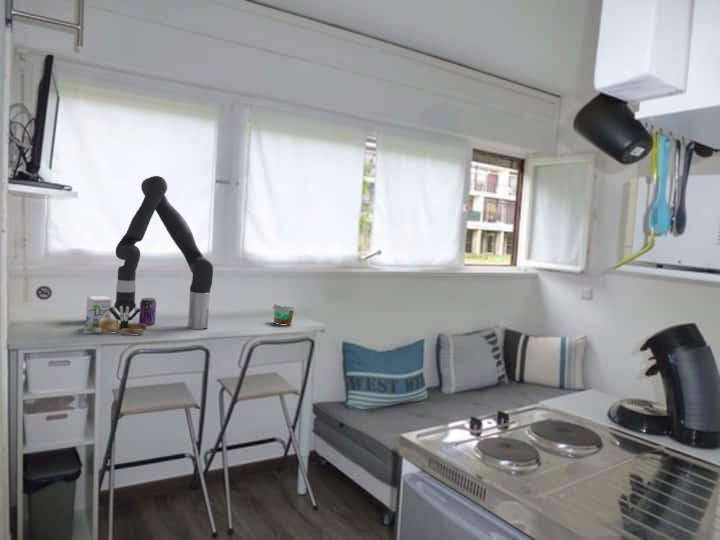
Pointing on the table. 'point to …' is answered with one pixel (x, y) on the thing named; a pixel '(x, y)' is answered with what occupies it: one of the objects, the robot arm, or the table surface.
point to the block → (109, 325)
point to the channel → (132, 328)
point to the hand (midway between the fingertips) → (124, 329)
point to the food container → (283, 314)
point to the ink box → (98, 308)
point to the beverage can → (147, 311)
